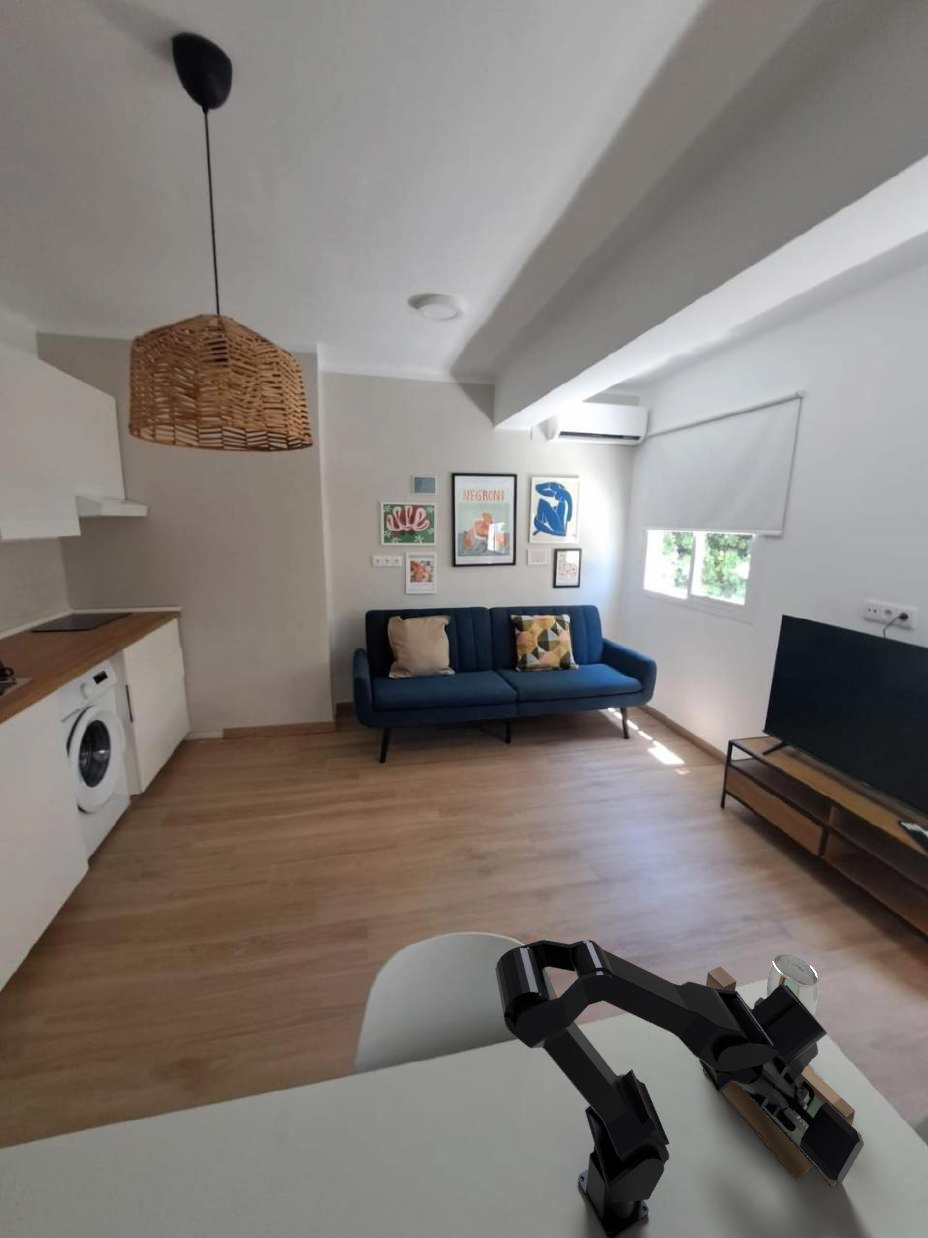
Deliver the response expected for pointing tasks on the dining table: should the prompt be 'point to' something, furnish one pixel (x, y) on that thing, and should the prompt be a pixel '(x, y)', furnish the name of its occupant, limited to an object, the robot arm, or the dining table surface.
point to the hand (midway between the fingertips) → (794, 1099)
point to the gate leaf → (821, 1096)
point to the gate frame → (751, 1109)
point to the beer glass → (795, 979)
